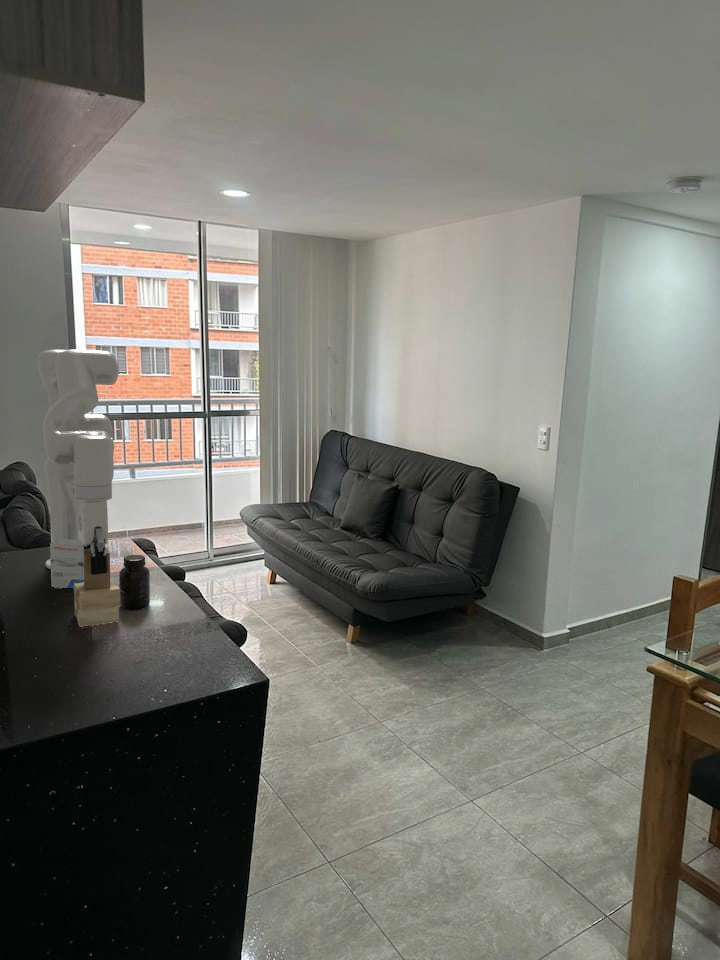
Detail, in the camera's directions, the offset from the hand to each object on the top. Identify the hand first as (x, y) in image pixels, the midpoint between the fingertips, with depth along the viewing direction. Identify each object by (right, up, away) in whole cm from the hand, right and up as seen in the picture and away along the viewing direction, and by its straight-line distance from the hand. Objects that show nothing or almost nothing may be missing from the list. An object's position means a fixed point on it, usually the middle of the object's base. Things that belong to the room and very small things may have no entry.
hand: (95, 567), depth 145 cm
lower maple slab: (0, -12, +2) cm, 12 cm away
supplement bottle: (+5, -11, +10) cm, 16 cm away
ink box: (-15, -8, +22) cm, 28 cm away
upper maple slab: (0, -8, +1) cm, 8 cm away
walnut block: (0, -4, +1) cm, 4 cm away
